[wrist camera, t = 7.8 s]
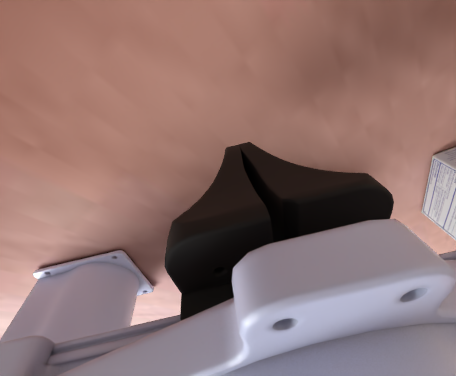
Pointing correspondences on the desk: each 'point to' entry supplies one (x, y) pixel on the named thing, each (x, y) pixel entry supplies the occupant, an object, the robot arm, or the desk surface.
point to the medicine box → (442, 192)
